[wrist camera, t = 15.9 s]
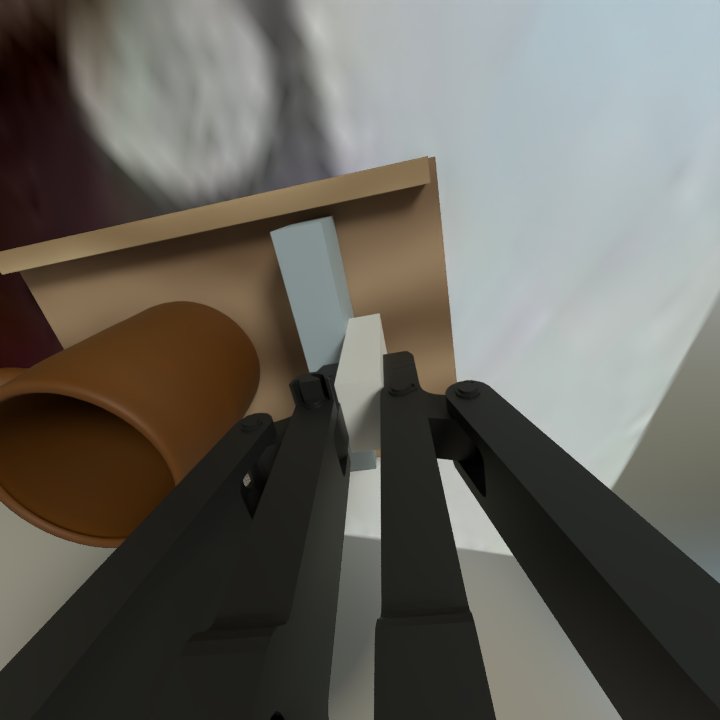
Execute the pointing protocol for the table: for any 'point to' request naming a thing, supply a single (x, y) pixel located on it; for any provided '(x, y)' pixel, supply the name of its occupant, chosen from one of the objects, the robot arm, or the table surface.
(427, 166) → the housing base
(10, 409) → the mug
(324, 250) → the bar
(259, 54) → the table surface
